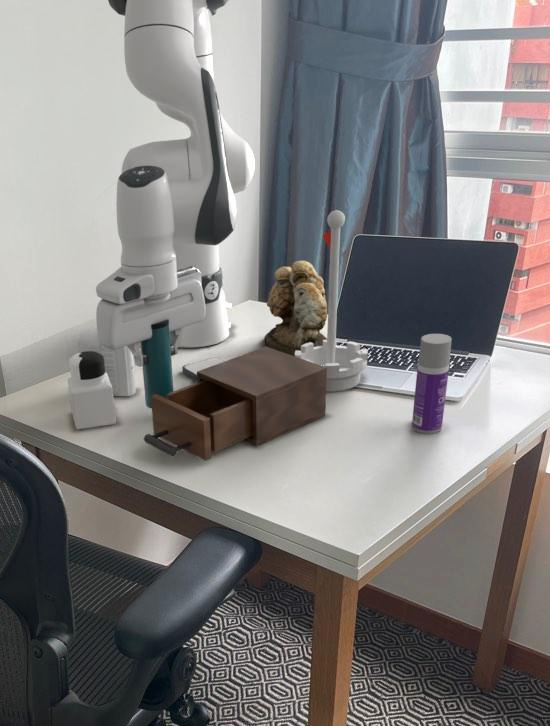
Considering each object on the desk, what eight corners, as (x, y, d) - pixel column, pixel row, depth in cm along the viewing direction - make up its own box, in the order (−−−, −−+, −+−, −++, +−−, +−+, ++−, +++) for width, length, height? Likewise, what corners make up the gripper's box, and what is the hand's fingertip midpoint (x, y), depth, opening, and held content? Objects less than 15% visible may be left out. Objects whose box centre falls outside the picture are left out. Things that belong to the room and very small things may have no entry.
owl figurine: (247, 340, 175) (246, 258, 166) (294, 328, 179) (295, 247, 170) (297, 366, 162) (299, 277, 152) (346, 352, 166) (351, 265, 156)
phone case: (179, 374, 164) (222, 399, 151) (179, 366, 163) (222, 390, 150) (218, 363, 167) (263, 387, 154) (217, 355, 166) (263, 378, 154)
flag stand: (378, 386, 151) (391, 212, 134) (311, 398, 148) (316, 223, 132) (346, 361, 161) (355, 198, 145) (283, 373, 159) (285, 208, 143)
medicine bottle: (111, 408, 152) (103, 345, 145) (116, 424, 146) (109, 359, 140) (72, 414, 151) (63, 350, 145) (76, 430, 145) (67, 365, 139)
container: (440, 434, 133) (451, 344, 125) (410, 432, 135) (419, 343, 126) (442, 422, 137) (453, 333, 128) (413, 420, 138) (421, 332, 130)
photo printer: (139, 389, 158) (133, 326, 152) (131, 398, 155) (124, 334, 148) (90, 385, 162) (82, 323, 155) (81, 394, 158) (72, 331, 152)
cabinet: (256, 446, 135) (256, 396, 130) (198, 419, 145) (196, 371, 140) (325, 416, 142) (327, 367, 137) (265, 392, 152) (265, 346, 148)
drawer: (183, 470, 128) (181, 430, 124) (132, 442, 138) (128, 403, 134) (274, 431, 137) (274, 392, 133) (220, 407, 146) (218, 370, 142)
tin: (157, 412, 143) (150, 326, 135) (139, 403, 146) (132, 320, 138) (180, 403, 145) (175, 318, 137) (162, 395, 149) (156, 312, 140)
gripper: (188, 260, 141) (192, 339, 148) (86, 289, 131) (97, 371, 139) (212, 266, 136) (215, 347, 144) (109, 296, 127) (118, 381, 134)
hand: (156, 359), depth 141 cm, fingers closed on tin, 5 cm apart
